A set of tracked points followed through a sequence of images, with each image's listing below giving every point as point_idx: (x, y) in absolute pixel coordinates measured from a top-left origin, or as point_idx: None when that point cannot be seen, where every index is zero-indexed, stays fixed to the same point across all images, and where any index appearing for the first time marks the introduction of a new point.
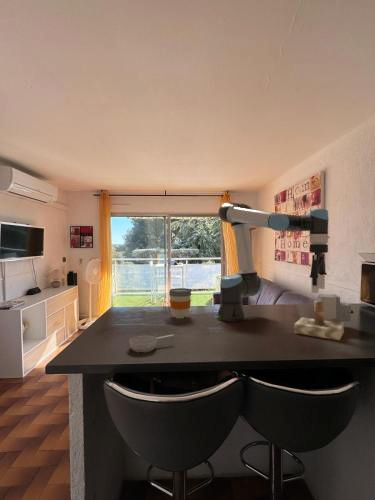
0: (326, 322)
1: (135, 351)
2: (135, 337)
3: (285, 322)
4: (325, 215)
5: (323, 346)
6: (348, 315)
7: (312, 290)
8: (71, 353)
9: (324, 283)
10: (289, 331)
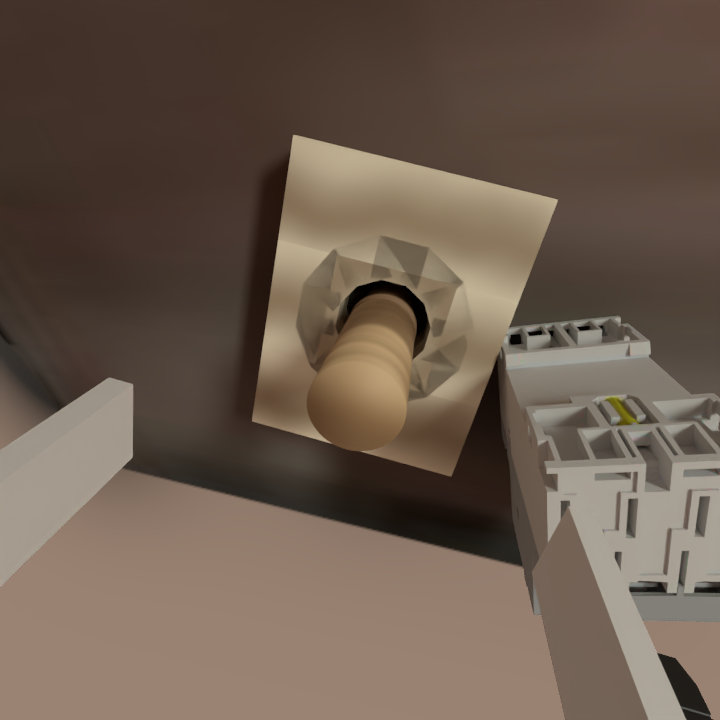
0: (427, 378)
1: None
2: None
3: (623, 30)
4: None
5: (135, 308)
6: (518, 539)
7: (85, 405)
8: None
9: (561, 660)
10: (335, 98)
